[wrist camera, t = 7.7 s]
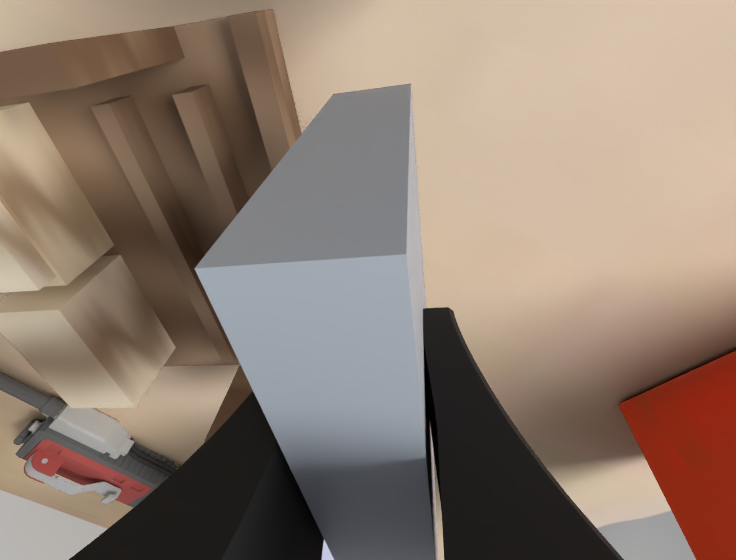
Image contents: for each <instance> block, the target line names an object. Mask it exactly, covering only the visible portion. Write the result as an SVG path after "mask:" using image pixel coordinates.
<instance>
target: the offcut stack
mask: <svg viewBox="0 0 736 560" xmlns="http://www.w3.org/2000/svg"><path fill="white" fill-rule="evenodd" d="M113 246H114V244H113V242H112V240H111V239H110V237H109V235H108V234H107V232H106V230H105V229H104V227H103V225H102V224H101V222H100V220H99V219H98V217H97V215H96V214H95V212H94V210H93V209H92V207H91V205H90V204H89V202H88V200H87V199H86V197H85V195H84V194H83V192H82V190H81V189H80V187H79V185H78V184H77V182H76V180H75V179H74V177H73V175H72V174H71V172H70V170H69V169H68V167H67V165H66V164H65V162H64V160H63V159H62V157H61V155H60V154H59V152H58V150H57V149H56V147H55V145H54V144H53V142H52V140H51V139H50V137H49V135H48V134H47V132H46V130H45V129H44V127H43V125H42V124H41V122H40V120H39V118H38V117H37V115H36V113H35V112H34V110H33V108H32V107H31V105H30V103H29V102H28V103H22V104H15V105H9V106H2V107H0V293H5V292H12V293H10V294H9V295H8V296H6V297H5V298H4V299H2V300H1V301H0V333H1V334H2V335H3V336H4V337H5V338H6V339H7V340H8V341H9V342H10V343H11V344H12V345H13V346H14V347H15V349H16V350H17V351H18V352H19V353H20V354H21V355H22V356H23V357H24V358H25V359H26V360H27V361H28V362H29V363H30V365H31V366H32V367H33V368H34V369H35V370H36V371H37V372H38V373H39V374H40V375H41V376H42V377H43V378H44V379H45V381H46V382H47V383H48V384H49V385H50V386H51V387H52V388H53V389H54V390H55V391H56V392H57V393H58V394H59V395H60V397H61V398H62V399H63V400H64V401H65V402H66V403H67V404H68V405H69V406H70V407H71V408H136V406H137V405H138V403H139V402H140V400H141V399H142V397H143V396H144V394H145V393H146V391H147V390H148V388H149V387H150V385H151V384H152V382H153V381H154V379H155V378H156V376H157V375H158V373H159V372H160V370H161V369H162V367H163V366H164V364H165V363H166V361H167V360H168V358H169V357H170V355H171V354H172V352H173V351H174V349H175V348H176V347H175V345H174V344H173V342H172V340H171V339H170V337H169V335H168V334H167V332H166V330H165V329H164V327H163V325H162V324H161V322H160V320H159V319H158V317H157V315H156V314H155V312H154V310H153V309H152V307H151V305H150V304H149V302H148V300H147V299H146V297H145V295H144V294H143V292H142V290H141V289H140V287H139V285H138V284H137V282H136V280H135V279H134V277H133V275H132V274H131V272H130V270H129V269H128V267H127V265H126V264H125V262H124V260H123V259H122V257H121V255H111V256H102V255H103V254H105V253H106V252H107V251H108V250H109V249H111V248H112V247H113Z"/></svg>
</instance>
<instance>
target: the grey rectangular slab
mask: <svg viewBox="0 0 736 560" xmlns="http://www.w3.org/2000/svg"><path fill="white" fill-rule="evenodd" d="M194 269H195V271H196V273H197V275H198V277H199V279H200V281H201V283H202V285H203V287H204V289H205V292H206V294H207V296H208V298H209V300H210V302H211V304H212V306H213V308H214V310H215V312H216V315H217V317H218V319H219V321H220V323H221V325H222V327H223V329H224V331H225V333H226V335H227V337H228V340H229V342H230V344H231V346H232V348H233V350H234V352H235V354H236V356H237V358H238V360H239V363H240V365H241V367H242V369H243V371H244V373H245V375H246V377H247V379H248V381H249V383H250V385H251V388H252V390H253V392H254V394H255V396H256V398H257V400H258V402H259V404H260V406H261V408H262V410H263V413H264V415H265V417H266V419H267V421H268V423H269V425H270V427H271V429H272V431H273V433H274V436H275V438H276V440H277V442H278V444H279V446H280V448H281V450H282V452H283V454H284V456H285V458H286V461H287V463H288V465H289V467H290V469H291V471H292V473H293V475H294V477H295V479H296V481H297V484H298V486H299V488H300V490H301V492H302V494H303V496H304V498H305V500H306V502H307V504H308V506H309V509H310V511H311V513H312V515H313V517H314V519H315V521H316V523H317V525H318V527H319V529H320V532H321V534H322V536H323V538H324V540H325V542H326V544H327V546H328V548H329V550H330V552H331V554H332V557H333V559H334V560H438V540H437V518H436V495H435V473H434V451H433V442H432V434H431V427H430V419H429V406H428V393H427V381H426V368H425V355H424V342H423V309H424V308H426V301H425V286H424V272H423V257H422V242H421V227H420V213H419V198H418V183H417V168H416V154H415V139H414V124H413V109H412V95H411V84H405V85H397V86H390V87H382V88H375V89H368V90H360V91H353V92H345V93H338V94H333V95H332V97H331V98H330V99H329V100H328V102H327V103H326V104H325V105H324V107H323V108H322V109H321V110H320V112H319V113H318V114H317V115H316V117H315V118H314V119H313V120H312V122H311V123H310V124H309V125H308V127H307V128H306V129H305V130H304V132H303V133H302V134H301V135H300V137H299V138H298V139H297V140H296V142H295V143H294V144H293V145H292V147H291V148H290V149H289V150H288V152H287V153H286V154H285V156H284V157H283V158H282V159H281V161H280V162H279V163H278V164H277V166H276V167H275V168H274V169H273V171H272V172H271V173H270V174H269V176H268V177H267V178H266V179H265V181H264V182H263V183H262V184H261V186H260V187H259V188H258V189H257V191H256V192H255V193H254V194H253V196H252V197H251V198H250V199H249V201H248V202H247V203H246V204H245V206H244V207H243V208H242V209H241V211H240V212H239V213H238V214H237V216H236V217H235V218H234V220H233V221H232V222H231V223H230V225H229V226H228V227H227V228H226V230H225V231H224V232H223V233H222V235H221V236H220V237H219V238H218V240H217V241H216V242H215V243H214V245H213V246H212V247H211V248H210V250H209V251H208V252H207V253H206V255H205V256H204V257H203V258H202V260H201V261H200V262H199V263H198V265H197V266H196V267H195V268H194Z"/></svg>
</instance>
